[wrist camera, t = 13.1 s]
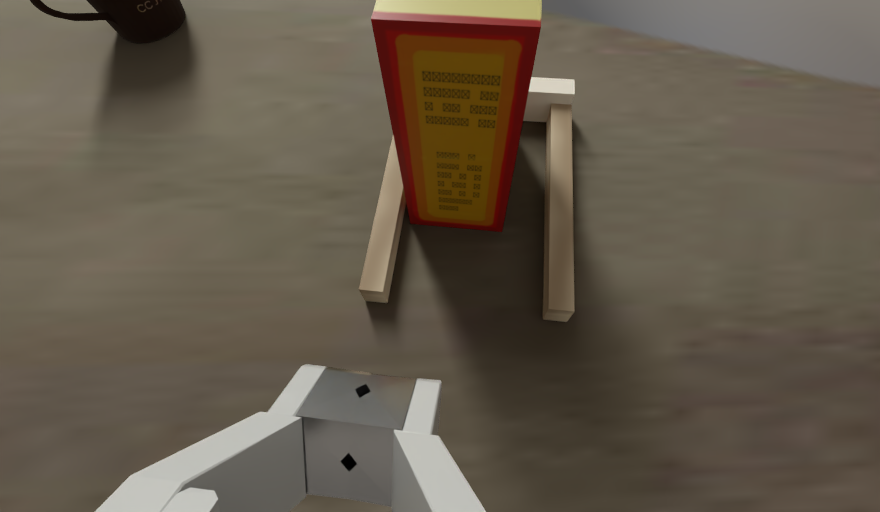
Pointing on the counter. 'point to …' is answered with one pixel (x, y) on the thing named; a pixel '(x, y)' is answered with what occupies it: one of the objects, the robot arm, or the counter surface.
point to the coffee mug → (130, 17)
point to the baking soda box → (457, 102)
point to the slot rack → (553, 107)
